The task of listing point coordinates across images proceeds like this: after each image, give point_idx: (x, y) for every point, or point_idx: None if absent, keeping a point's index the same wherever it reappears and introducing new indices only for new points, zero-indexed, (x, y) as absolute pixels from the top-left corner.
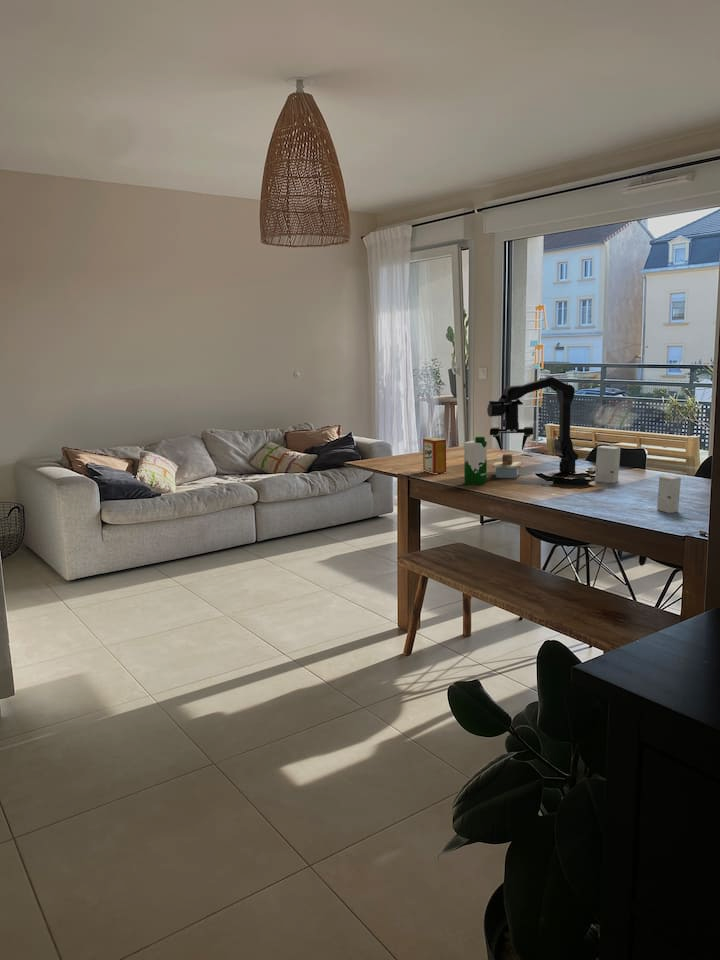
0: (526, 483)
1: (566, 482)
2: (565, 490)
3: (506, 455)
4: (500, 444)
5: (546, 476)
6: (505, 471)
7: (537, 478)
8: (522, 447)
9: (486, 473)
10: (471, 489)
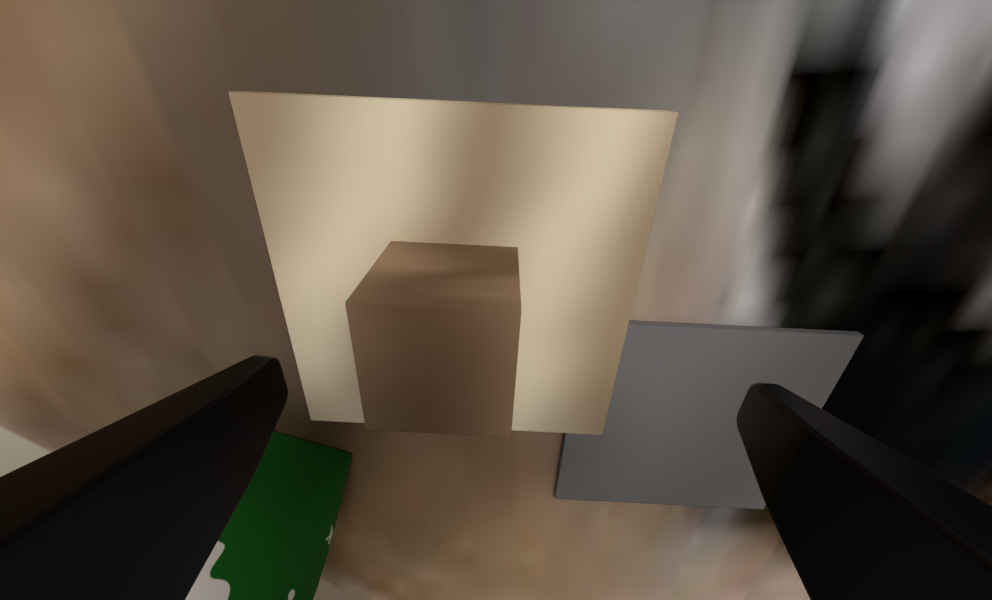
0: (607, 491)
1: (897, 429)
2: (781, 583)
3: (426, 417)
4: (183, 581)
5: (857, 200)
6: None
7: (724, 346)
8: (780, 507)
9: (331, 535)
10: (321, 574)
